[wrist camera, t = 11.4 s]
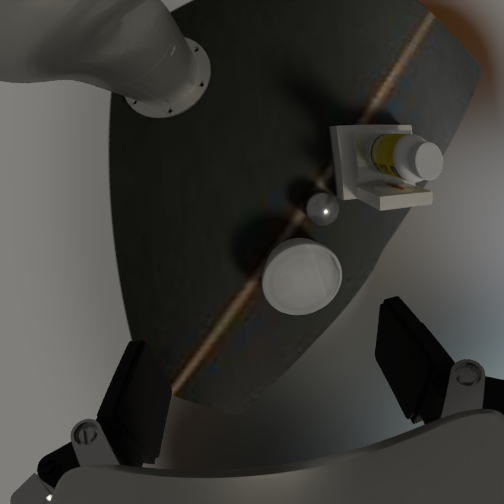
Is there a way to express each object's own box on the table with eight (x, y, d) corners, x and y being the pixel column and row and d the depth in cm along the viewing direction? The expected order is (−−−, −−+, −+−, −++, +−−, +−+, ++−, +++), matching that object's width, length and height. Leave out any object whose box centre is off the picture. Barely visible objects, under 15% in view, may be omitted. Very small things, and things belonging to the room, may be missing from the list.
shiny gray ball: (301, 191, 38) (305, 195, 35) (330, 188, 38) (337, 191, 35) (304, 221, 40) (309, 227, 37) (333, 217, 40) (339, 223, 37)
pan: (348, 131, 32) (354, 130, 30) (404, 130, 32) (410, 130, 30) (354, 180, 34) (359, 182, 33) (407, 175, 34) (414, 177, 33)
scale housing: (328, 126, 35) (356, 121, 25) (401, 125, 34) (440, 124, 25) (336, 196, 38) (364, 213, 29) (406, 189, 38) (444, 203, 29)
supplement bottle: (363, 166, 32) (403, 176, 23) (373, 127, 30) (416, 125, 21) (396, 179, 33) (440, 194, 24) (406, 142, 31) (452, 147, 22)
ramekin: (345, 255, 42) (357, 270, 37) (302, 308, 45) (309, 327, 40) (288, 216, 40) (295, 227, 35) (245, 276, 43) (246, 293, 38)
